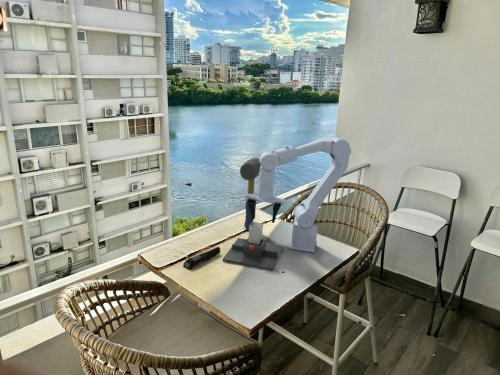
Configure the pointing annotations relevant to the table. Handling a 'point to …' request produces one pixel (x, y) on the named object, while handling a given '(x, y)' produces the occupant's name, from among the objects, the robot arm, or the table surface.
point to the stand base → (254, 254)
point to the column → (255, 233)
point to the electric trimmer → (201, 258)
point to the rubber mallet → (250, 183)
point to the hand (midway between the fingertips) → (263, 220)
